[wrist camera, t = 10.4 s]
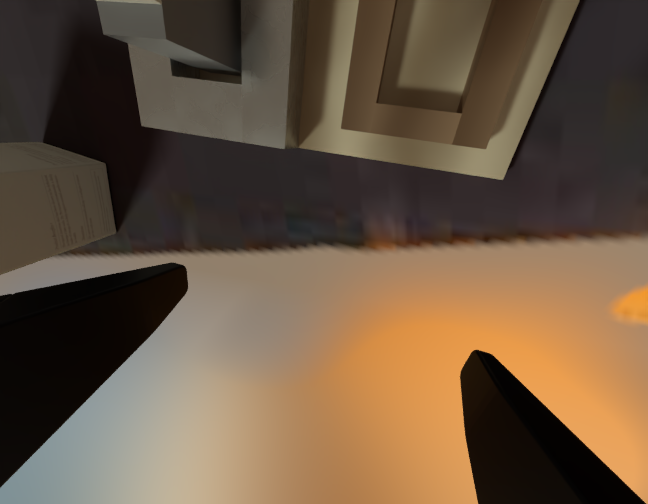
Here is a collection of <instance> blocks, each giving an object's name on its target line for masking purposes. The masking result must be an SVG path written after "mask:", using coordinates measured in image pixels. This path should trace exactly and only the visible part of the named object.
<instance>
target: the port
mask: <svg viewBox="0 0 648 504" xmlns="http://www.w3.org/2000/svg"><path fill="white" fill-rule="evenodd" d="M309 3H310V0H241V53H242V84H233V83H225V82H217V81H209V80H200V74H199V69H198V68H195V67H193V66H190V65H187V64H184V63H182V62H179V61H176V60H173V59H170V58H168V57H165V56H162V55H159V54H157V53H154V52H151V51H148V50H146V49H143V48H140V47H137V46H134V45H132V44H129V43H128V48H129V54H130V60H131V66H132V72H133V78H134V84H135V90H136V96H137V102H138V108H139V114H140V120H141V125H142V126H144V127H150V128H156V129H163V130H169V131H175V132H181V133H188V134H194V135H200V136H206V137H213V138H219V139H225V140H231V141H237V142H244V143H250V144H256V145H262V146H269V147H275V148H281V149H290V148H298V145H299V132H300V119H301V106H302V93H303V81H304V68H305V55H306V42H307V29H308V16H309Z"/></svg>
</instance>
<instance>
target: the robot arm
mask: <svg viewBox="0 0 648 504" xmlns="http://www.w3.org/2000/svg"><path fill="white" fill-rule="evenodd" d="M187 289H188V280H187V271H186V268H185V266H183V265H180V264H176V263H168V264H162V265H157V266H152V267H147V268H141V269H136V270H132V271H126V272H122V273H116V274H111V275H105V276H100V277H95V278H90V279H85V280H80V281H75V282H69V283H65V284H60V285H54V286H49V287H44V288H39V289H34V290H29V291H23V292H18V293H15V294H13V295H12V294H8V295H3V296H0V487H1V486H2V485H3V484H4V483H5V482H6V481H7V480H8V479H9V478H10V477H11V476H12V475H13V474H14V473H15V472H16V471H17V470H18V469H19V468H20V467H21V466H22V465H23V464H24V463H25V462H26V461H27V460H28V459H29V458H30V457H31V456H32V455H33V454H34V453H35V452H36V451H37V450H38V449H39V448H40V447H41V446H42V445H43V444H44V443H45V442H46V441H47V440H48V439H49V438H50V437H51V436H52V434H54V433H55V432H56V431H57V430H58V429H59V428H60V427H61V426H62V425H63V424H64V423H65V421H67V419H69V417H70V416H71V415H73V413H75V411H76V410H77V409H78V408H79V407H80V406H81V405H82V404H83V403H84V402H85V401H86V400H87V399H88V398H89V397H90V396H91V395H92V394H93V393H94V392H95V391H96V390H97V389H98V388H99V387H100V386H101V385H102V384H103V383H104V382H105V381H106V380H107V379H108V378H109V377H110V376H111V375H112V374H113V373H114V372H115V371H116V370H117V369H118V368H119V367H120V366H121V365H122V364H123V363H124V362H125V361H126V360H127V359H128V358H129V357H130V356H131V355H132V354H133V353H134V352H135V351H136V350H137V349H138V348H139V346H141V345H142V344H143V343H144V342H145V341H146V340H147V339H148V338H149V337H150V335H151V334H152V333H153V332H154V331H155V330H156V329H157V328H158V327H159V325H160V324H161V323H162V322H163V321H164V319H165V318H166V317H167V316H168V315H169V313H170V312H171V311H172V310H173V308H174V307H175V306H176V305H177V304H178V302H179V301H180V300H181V299H182V298H183V296H184V295H185V294H186V292H187ZM460 379H461V392H462V403H463V416H464V427H465V436H466V442H467V447H468V452H469V458H470V463H471V468H472V473H473V479H474V484H475V489H476V494H477V500H478V504H646V503H645V502H644V501H643V500H642V499H641V498H640V497H639V496H638V495H637V494H635V493H634V492H633V491H632V490H631V489H630V488H629V487H628V486H627V485H626V484H625V483H624V482H623V481H622V480H621V479H620V478H619V477H618V476H617V475H616V474H615V473H614V472H613V471H612V470H610V468H609V467H607V465H606V464H604V463H603V462H602V461H601V460H600V459H599V458H598V457H597V456H596V455H595V454H594V453H593V452H592V451H591V450H590V449H589V448H588V447H587V446H586V445H585V444H584V443H583V442H582V441H581V440H580V439H579V438H578V437H577V436H576V435H575V434H573V432H571V431H570V430H569V429H568V428H567V427H566V426H565V425H564V424H563V423H562V422H561V421H560V420H559V419H558V418H557V417H556V416H555V415H554V414H553V413H552V412H551V411H550V410H549V409H548V408H547V407H546V406H545V405H544V404H543V403H542V402H541V401H539V400H538V399H537V398H536V397H535V396H534V395H533V394H532V393H531V392H530V391H529V390H528V389H527V388H526V387H525V386H524V385H523V384H522V383H521V382H520V381H519V380H518V379H517V378H516V377H515V376H513V374H511V372H510V371H509V370H507V369H506V368H505V367H504V366H503V365H502V364H501V363H500V362H499V361H498V360H497V359H496V358H495V357H494V356H493V355H491V354H489V353H486V352H483V351H479V350H474V351H473V352H472V353H471V354H470V356H469V358H468V360H467V361H466V363H465V365H464V366H463V368H462V370H461V375H460Z"/></svg>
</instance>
